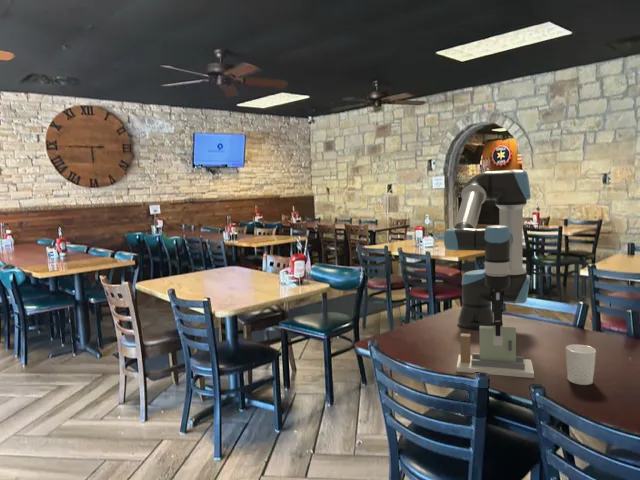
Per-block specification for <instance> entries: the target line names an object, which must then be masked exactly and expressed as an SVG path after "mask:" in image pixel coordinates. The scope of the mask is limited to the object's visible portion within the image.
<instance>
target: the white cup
mask: <svg viewBox="0 0 640 480" xmlns="http://www.w3.org/2000/svg"><path fill="white" fill-rule="evenodd" d="M596 352H597V350H596V349H595V348H594V347H592V346H589V345H584V344H578V343H577V344H568V345H566V346H565V357H566V358H565V359H566V361H565V362H566V371H567V376H566V377H567V380H568V381H569V382H570V383H573V384H576V385H581V386H589V385H592V384H594V383H593V382H594V375H595V374H594V373H595V366H596Z"/></svg>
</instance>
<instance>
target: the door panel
mask: <svg viewBox="0 0 640 480" xmlns="http://www.w3.org/2000/svg"><path fill="white" fill-rule="evenodd" d="M502 329H503V346H498V345H493V326H480V328H479V329H478V331H479V333H478V334H479V353H480V360H492V361H505V362H516V356H517V330H516V329H517V328H516V327H512V326H511V327H510V326H502Z"/></svg>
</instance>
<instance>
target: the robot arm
mask: <svg viewBox="0 0 640 480" xmlns="http://www.w3.org/2000/svg"><path fill="white" fill-rule="evenodd" d="M460 195H461V196H460V197H461V202H460V206H459V210H458V212H457V214H456V215H457V216H456V219H455V222H454V225H453V227H452V228H447V229H445V231H444V234H443V242H444V247H445V249H446V250H448V251H457V252H458V251H478V252H479V251H480V252H484V256H485V257H484V269H473V270H469V271H466V272H464V273H463V274H462V277H461V305H462V306H461V309H460V313H459V316H458V318H457V325H458V326H459V327H461V328H465V329H469V330H479V328H480V326H493V345H498V346H503V329H502V327H503V324H504V323H503V313H504V308H503V306H504V303H507V304H524V303H526V302H527V300H528V297H529V296H528V295H529V289H530V283H531V275H529V274H527V270H526V268H524V267H523V208H524V207H525V206H526V205H527V201H528V200H530V199H531V186H530V180H529V175H528V173H527V171H526V170H524V169H505V170H504V169H503V170H486V171H483V172H480V173H478V174H476V175H474V176H473V177H471V178H470V179H469V180H468V181H467V182H466V183H465V184H464V185H463V188H462V190H461V194H460ZM486 201H494V203H495V206H496V207H497V208H498V209H499V211H498V213H499V225H488V226H486V227H485V228H477V227H478V222H479V217H480V214H481V209H482V204H484V203H485V202H486Z"/></svg>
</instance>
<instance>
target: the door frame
mask: <svg viewBox="0 0 640 480" xmlns="http://www.w3.org/2000/svg"><path fill="white" fill-rule="evenodd" d="M459 339H460V341H459V343H460V354H458V358H457V363H456V372H457V373H467V374H468V373H470V374H476V373H475V372H485V373H487V374H486V375H494V376H502V377H504V376H507V377H518V378H528V379H529V378H530V379H532V378H533V379H534V378H535V372H534V368H533V362H532V359H528V358H527V359H525V357H524V356H523V355H522V356H521V355H516V362H505V361H492V360H480V352H471V333H464V332H463V333H460V338H459ZM471 354H472V355H471Z"/></svg>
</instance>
